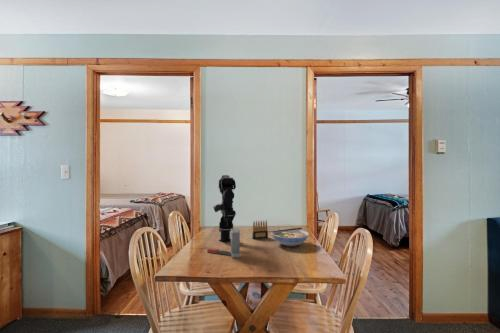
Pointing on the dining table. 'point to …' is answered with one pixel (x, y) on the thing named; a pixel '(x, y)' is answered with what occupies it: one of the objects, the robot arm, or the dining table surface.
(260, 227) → the ammunition clip
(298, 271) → the dining table surface
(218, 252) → the ratchet
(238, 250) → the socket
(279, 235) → the ramen bowl
